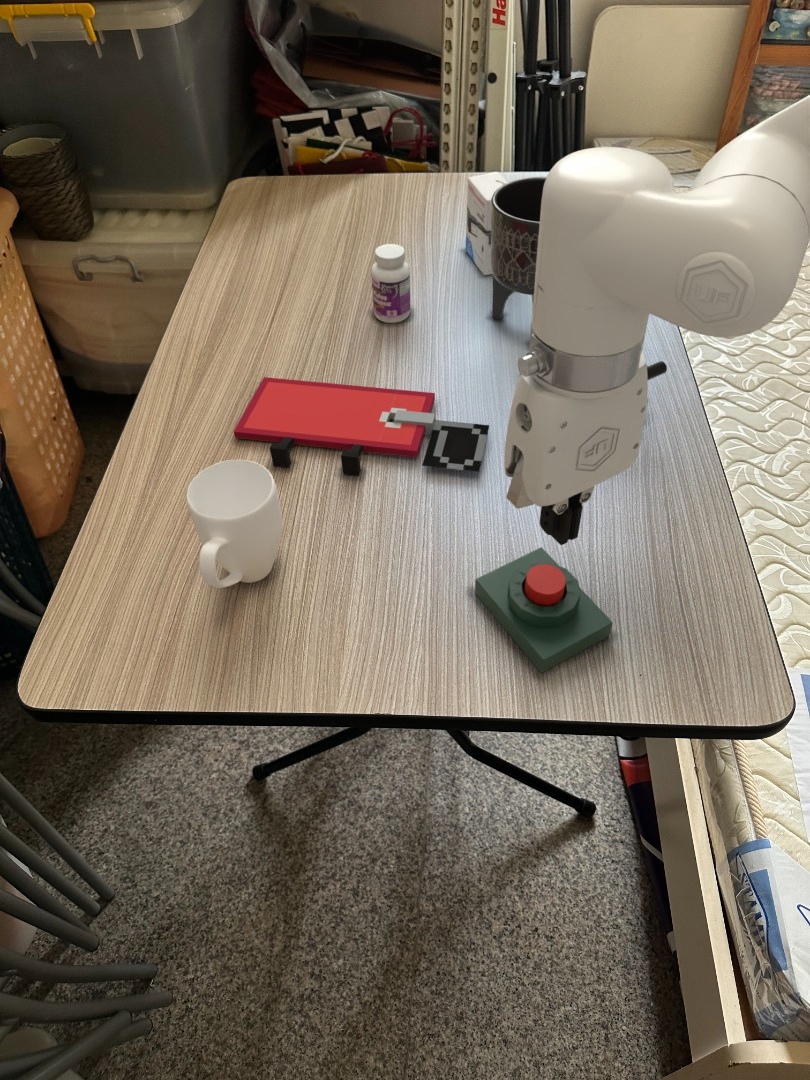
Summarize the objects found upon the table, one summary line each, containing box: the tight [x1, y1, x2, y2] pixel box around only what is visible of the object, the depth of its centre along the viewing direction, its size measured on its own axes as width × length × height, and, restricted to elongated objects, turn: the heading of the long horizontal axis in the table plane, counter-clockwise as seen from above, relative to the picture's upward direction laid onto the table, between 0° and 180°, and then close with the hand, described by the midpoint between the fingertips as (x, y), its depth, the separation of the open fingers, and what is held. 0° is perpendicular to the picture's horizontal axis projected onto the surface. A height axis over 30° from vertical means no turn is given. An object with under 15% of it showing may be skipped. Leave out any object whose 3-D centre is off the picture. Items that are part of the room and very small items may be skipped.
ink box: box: [465, 171, 509, 276], centre depth 117 cm, size 8×5×12 cm, turn 17°
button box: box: [474, 547, 614, 674], centre depth 75 cm, size 11×8×4 cm
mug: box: [186, 459, 283, 589], centre depth 76 cm, size 12×8×11 cm
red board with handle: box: [233, 376, 490, 477], centre depth 94 cm, size 30×3×15 cm
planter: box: [491, 176, 547, 320], centre depth 103 cm, size 13×13×18 cm
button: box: [525, 564, 566, 606], centre depth 73 cm, size 4×4×2 cm
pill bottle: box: [370, 243, 411, 324], centre depth 109 cm, size 5×5×10 cm
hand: (558, 531), depth 67 cm, fingers closed
